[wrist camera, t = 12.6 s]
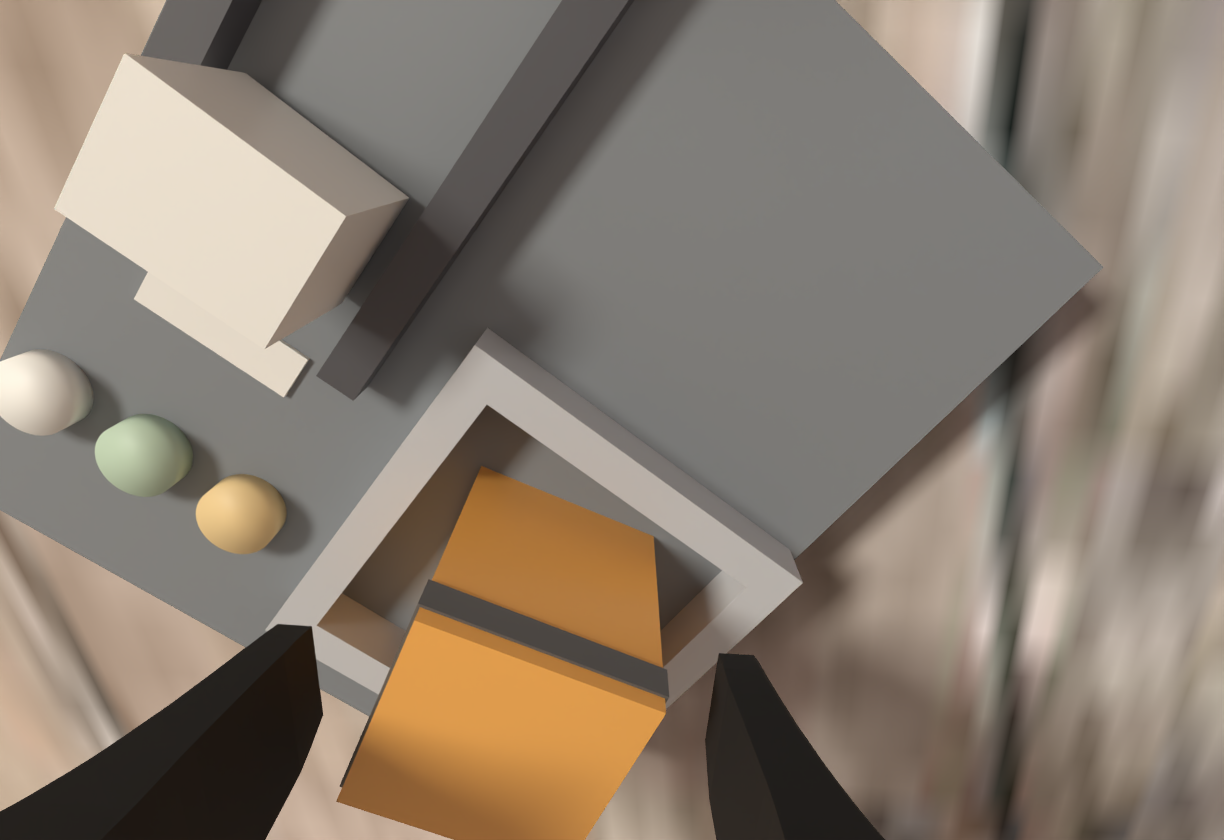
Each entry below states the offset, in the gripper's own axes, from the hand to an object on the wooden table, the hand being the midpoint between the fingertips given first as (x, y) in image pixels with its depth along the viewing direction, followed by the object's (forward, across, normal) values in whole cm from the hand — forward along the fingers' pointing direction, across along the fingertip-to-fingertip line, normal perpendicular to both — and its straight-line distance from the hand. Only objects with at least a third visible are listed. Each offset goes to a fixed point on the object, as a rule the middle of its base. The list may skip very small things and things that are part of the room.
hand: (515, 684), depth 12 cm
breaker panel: (+5, +1, -4) cm, 7 cm away
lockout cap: (+3, 0, 0) cm, 3 cm away
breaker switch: (+3, +4, -8) cm, 9 cm away
